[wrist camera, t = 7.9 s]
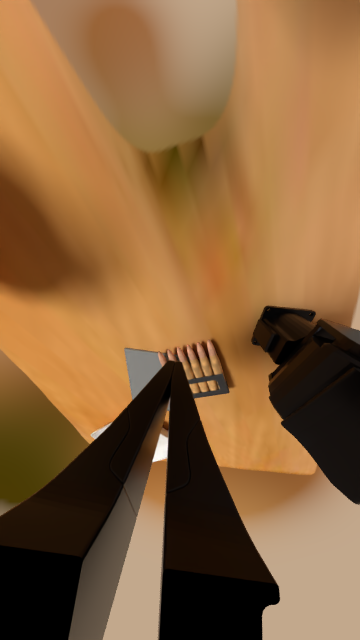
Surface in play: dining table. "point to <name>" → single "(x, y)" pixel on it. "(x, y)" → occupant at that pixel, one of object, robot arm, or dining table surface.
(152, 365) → the mat
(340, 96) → the dining table surface
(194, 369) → the ammunition clip
